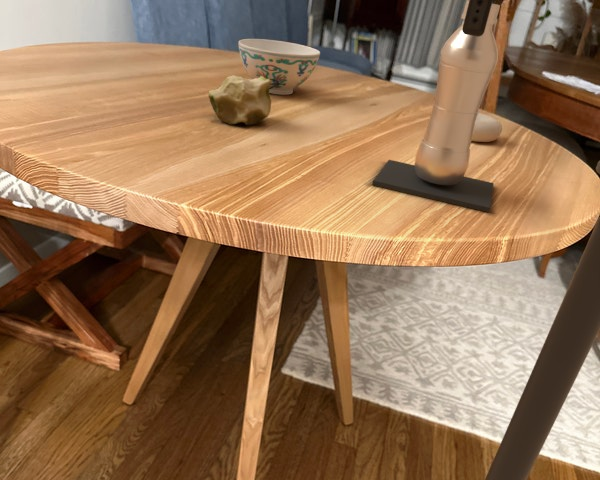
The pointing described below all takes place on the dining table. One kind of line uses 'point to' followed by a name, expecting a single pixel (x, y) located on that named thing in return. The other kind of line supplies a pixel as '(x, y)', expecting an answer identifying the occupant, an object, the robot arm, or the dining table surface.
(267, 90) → the fruit
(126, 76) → the dining table surface
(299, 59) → the chinaware
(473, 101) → the plastic bottle
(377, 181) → the mat
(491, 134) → the donut
